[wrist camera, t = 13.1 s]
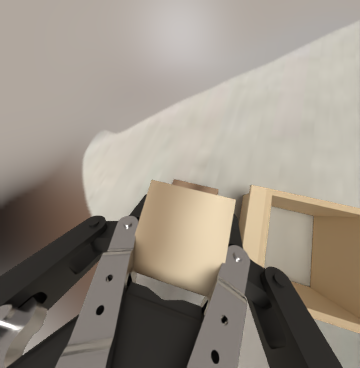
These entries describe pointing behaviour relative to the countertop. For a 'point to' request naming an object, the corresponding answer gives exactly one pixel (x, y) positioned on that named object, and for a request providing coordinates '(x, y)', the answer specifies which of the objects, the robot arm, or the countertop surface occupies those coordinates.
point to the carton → (313, 251)
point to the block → (183, 236)
